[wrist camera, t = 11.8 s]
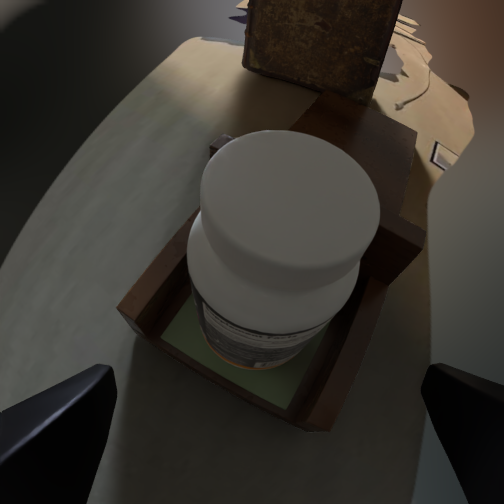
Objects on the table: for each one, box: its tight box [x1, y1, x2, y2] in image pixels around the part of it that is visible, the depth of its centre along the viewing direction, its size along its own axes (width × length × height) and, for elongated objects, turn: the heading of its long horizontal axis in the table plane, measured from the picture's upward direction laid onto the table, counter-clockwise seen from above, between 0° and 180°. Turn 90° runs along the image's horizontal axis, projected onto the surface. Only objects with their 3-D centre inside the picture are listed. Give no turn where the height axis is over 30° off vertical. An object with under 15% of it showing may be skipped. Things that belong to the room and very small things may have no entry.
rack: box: [116, 90, 426, 432], centre depth 20 cm, size 30×11×8 cm, turn 151°
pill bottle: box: [187, 130, 380, 370], centre depth 12 cm, size 6×6×10 cm
